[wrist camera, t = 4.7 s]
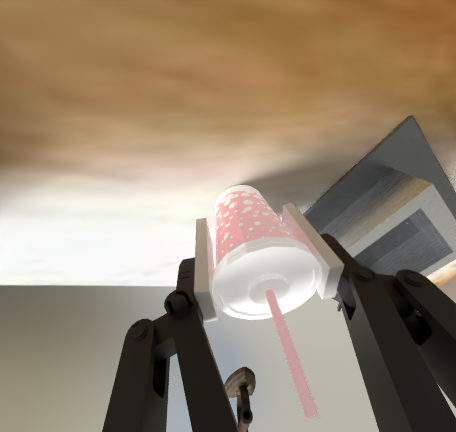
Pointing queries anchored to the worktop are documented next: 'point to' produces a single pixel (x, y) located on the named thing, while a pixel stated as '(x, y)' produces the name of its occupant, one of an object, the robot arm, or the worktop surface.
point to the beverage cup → (263, 271)
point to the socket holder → (392, 207)
